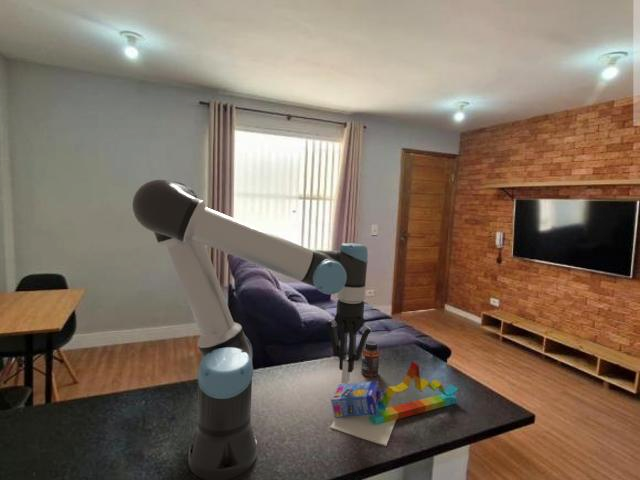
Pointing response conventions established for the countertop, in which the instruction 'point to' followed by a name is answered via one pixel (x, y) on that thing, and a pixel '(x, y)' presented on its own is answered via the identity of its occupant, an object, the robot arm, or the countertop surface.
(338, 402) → the ink cartridge box
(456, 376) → the countertop surface
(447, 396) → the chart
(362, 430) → the plain beige panel
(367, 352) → the supplement bottle
